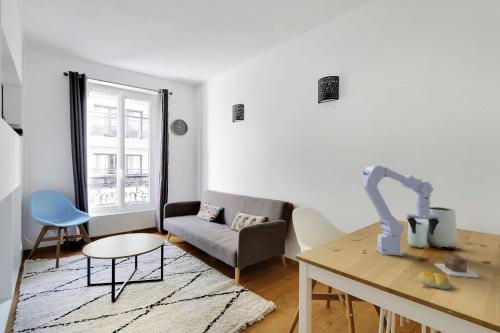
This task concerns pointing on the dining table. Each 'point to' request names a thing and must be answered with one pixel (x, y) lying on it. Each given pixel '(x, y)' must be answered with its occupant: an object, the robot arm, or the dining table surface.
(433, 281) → the bread roll
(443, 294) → the dining table surface
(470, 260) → the dining table surface
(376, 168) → the robot arm
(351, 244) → the dining table surface
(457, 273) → the grey tile
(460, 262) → the walnut block
